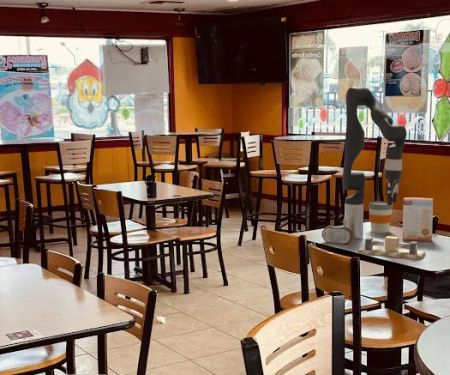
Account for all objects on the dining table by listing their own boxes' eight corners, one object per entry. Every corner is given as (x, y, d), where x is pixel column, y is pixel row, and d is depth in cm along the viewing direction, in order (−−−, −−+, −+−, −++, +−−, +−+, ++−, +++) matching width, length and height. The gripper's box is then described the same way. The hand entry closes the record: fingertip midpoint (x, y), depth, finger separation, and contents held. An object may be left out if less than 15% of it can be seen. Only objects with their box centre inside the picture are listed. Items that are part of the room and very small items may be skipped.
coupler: (398, 250, 314) (398, 237, 313) (396, 252, 310) (396, 238, 310) (387, 249, 316) (387, 236, 315) (384, 250, 313) (385, 237, 312)
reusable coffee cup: (394, 233, 360) (395, 204, 358) (370, 233, 361) (371, 204, 359) (389, 228, 373) (390, 201, 371) (365, 228, 373) (366, 201, 371)
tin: (353, 244, 334) (353, 227, 333) (351, 245, 332) (351, 228, 330) (322, 241, 341) (323, 224, 340) (320, 242, 338) (321, 225, 337)
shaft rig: (358, 253, 315) (358, 238, 314) (364, 248, 324) (364, 235, 323) (420, 259, 303) (421, 244, 302) (425, 254, 312) (425, 240, 311)
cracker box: (432, 239, 345) (433, 197, 342) (431, 241, 339) (433, 199, 337) (403, 237, 350) (404, 196, 347) (402, 240, 344) (403, 198, 341)
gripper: (397, 171, 311) (396, 206, 313) (405, 167, 323) (403, 201, 326) (381, 170, 314) (379, 205, 317) (389, 166, 327) (387, 200, 329)
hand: (391, 203), depth 321 cm, fingers open, 8 cm apart
